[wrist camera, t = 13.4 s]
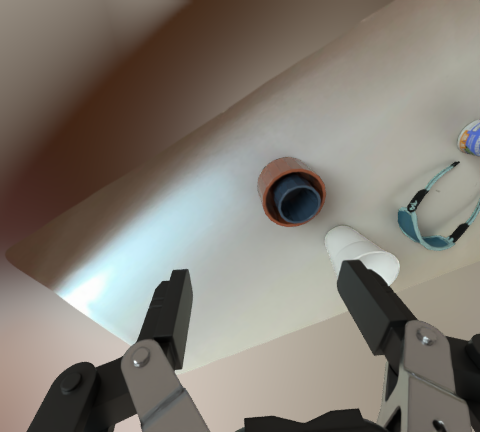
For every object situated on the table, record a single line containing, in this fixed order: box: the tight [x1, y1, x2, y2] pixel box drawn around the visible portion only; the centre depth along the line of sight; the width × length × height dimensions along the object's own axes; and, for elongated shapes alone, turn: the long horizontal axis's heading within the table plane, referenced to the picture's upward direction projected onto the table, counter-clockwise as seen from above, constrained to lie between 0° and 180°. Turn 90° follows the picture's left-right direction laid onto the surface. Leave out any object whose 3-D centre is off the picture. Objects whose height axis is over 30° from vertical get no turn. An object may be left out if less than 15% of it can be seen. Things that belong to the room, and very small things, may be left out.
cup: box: [325, 225, 400, 286], centre depth 41 cm, size 10×10×11 cm
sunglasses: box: [398, 162, 480, 251], centre depth 42 cm, size 14×15×5 cm
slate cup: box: [269, 172, 321, 224], centre depth 36 cm, size 6×6×8 cm
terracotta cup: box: [257, 157, 326, 227], centre depth 37 cm, size 10×10×6 cm
